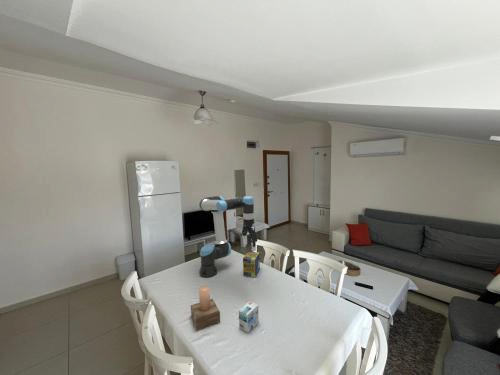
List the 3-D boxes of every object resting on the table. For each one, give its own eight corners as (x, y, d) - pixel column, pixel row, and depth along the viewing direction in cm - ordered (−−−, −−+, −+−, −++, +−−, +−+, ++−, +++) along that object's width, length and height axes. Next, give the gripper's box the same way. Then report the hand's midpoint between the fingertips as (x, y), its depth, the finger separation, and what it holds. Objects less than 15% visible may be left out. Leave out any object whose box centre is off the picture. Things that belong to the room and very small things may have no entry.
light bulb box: (248, 333, 119) (247, 315, 118) (238, 328, 123) (238, 310, 122) (259, 322, 128) (258, 304, 126) (250, 317, 132) (249, 300, 131)
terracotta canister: (198, 306, 132) (197, 287, 131) (208, 303, 135) (207, 285, 133) (201, 312, 126) (200, 292, 125) (211, 309, 129) (210, 289, 128)
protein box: (243, 276, 180) (242, 258, 178) (248, 267, 194) (248, 250, 193) (255, 277, 177) (254, 259, 175) (260, 269, 191) (259, 252, 190)
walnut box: (191, 315, 134) (190, 304, 134) (213, 308, 141) (212, 298, 140) (196, 330, 122) (195, 319, 121) (220, 322, 128) (219, 311, 127)
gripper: (262, 221, 144) (262, 252, 146) (245, 214, 166) (246, 241, 168) (252, 223, 140) (252, 254, 143) (236, 215, 163) (237, 242, 165)
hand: (249, 247), depth 156 cm, fingers open, 13 cm apart
